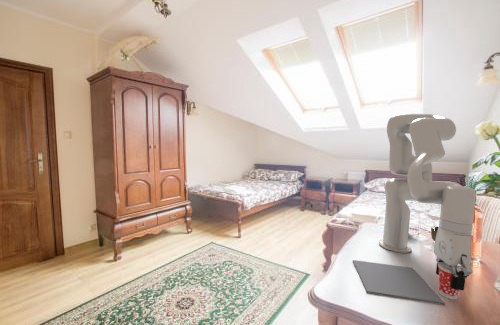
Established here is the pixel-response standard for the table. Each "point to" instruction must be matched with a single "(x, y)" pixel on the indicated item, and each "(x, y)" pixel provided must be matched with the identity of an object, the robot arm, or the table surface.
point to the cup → (434, 233)
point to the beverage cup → (446, 281)
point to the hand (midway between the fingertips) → (449, 281)
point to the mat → (395, 282)
